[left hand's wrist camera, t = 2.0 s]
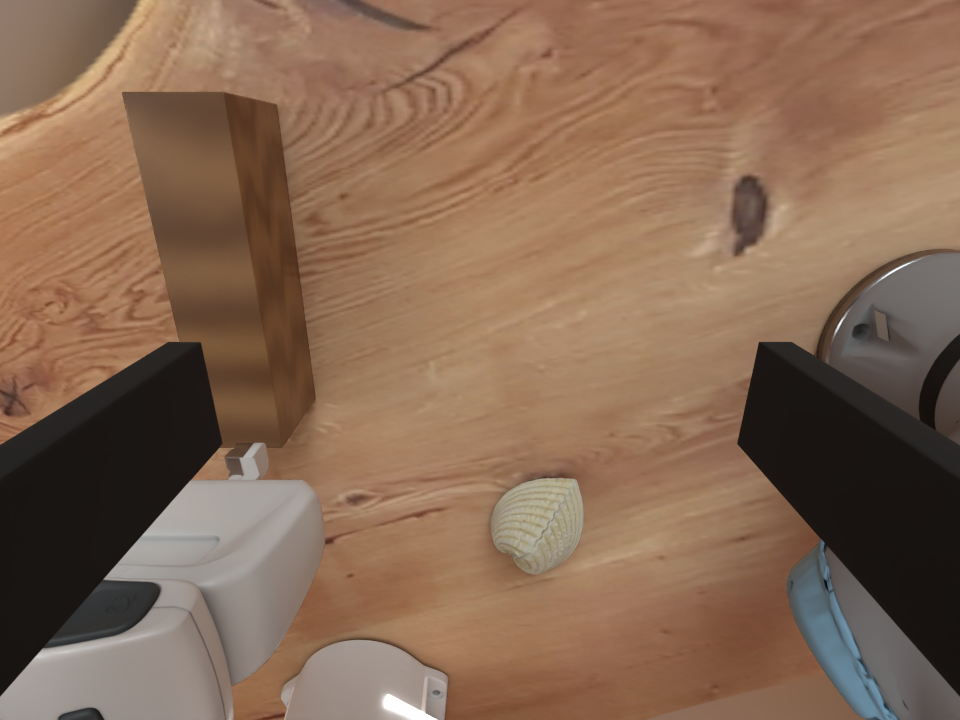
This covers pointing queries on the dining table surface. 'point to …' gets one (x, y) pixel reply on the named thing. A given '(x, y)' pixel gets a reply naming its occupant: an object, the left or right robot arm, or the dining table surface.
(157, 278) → the dining table surface
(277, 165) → the bar
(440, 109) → the dining table surface
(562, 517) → the seashell
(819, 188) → the dining table surface
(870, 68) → the dining table surface
